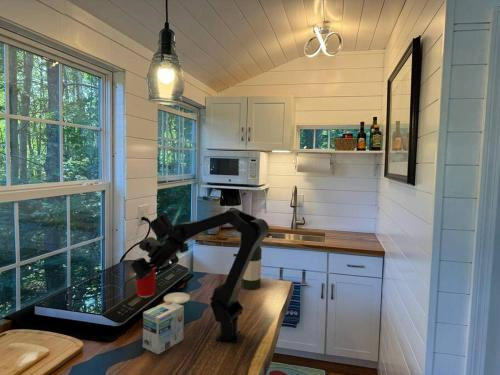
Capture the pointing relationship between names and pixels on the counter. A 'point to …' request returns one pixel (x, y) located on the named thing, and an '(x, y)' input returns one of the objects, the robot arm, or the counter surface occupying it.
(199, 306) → the counter surface
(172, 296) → the coaster
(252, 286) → the wine bottle
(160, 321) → the light bulb box
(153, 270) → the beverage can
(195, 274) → the counter surface
